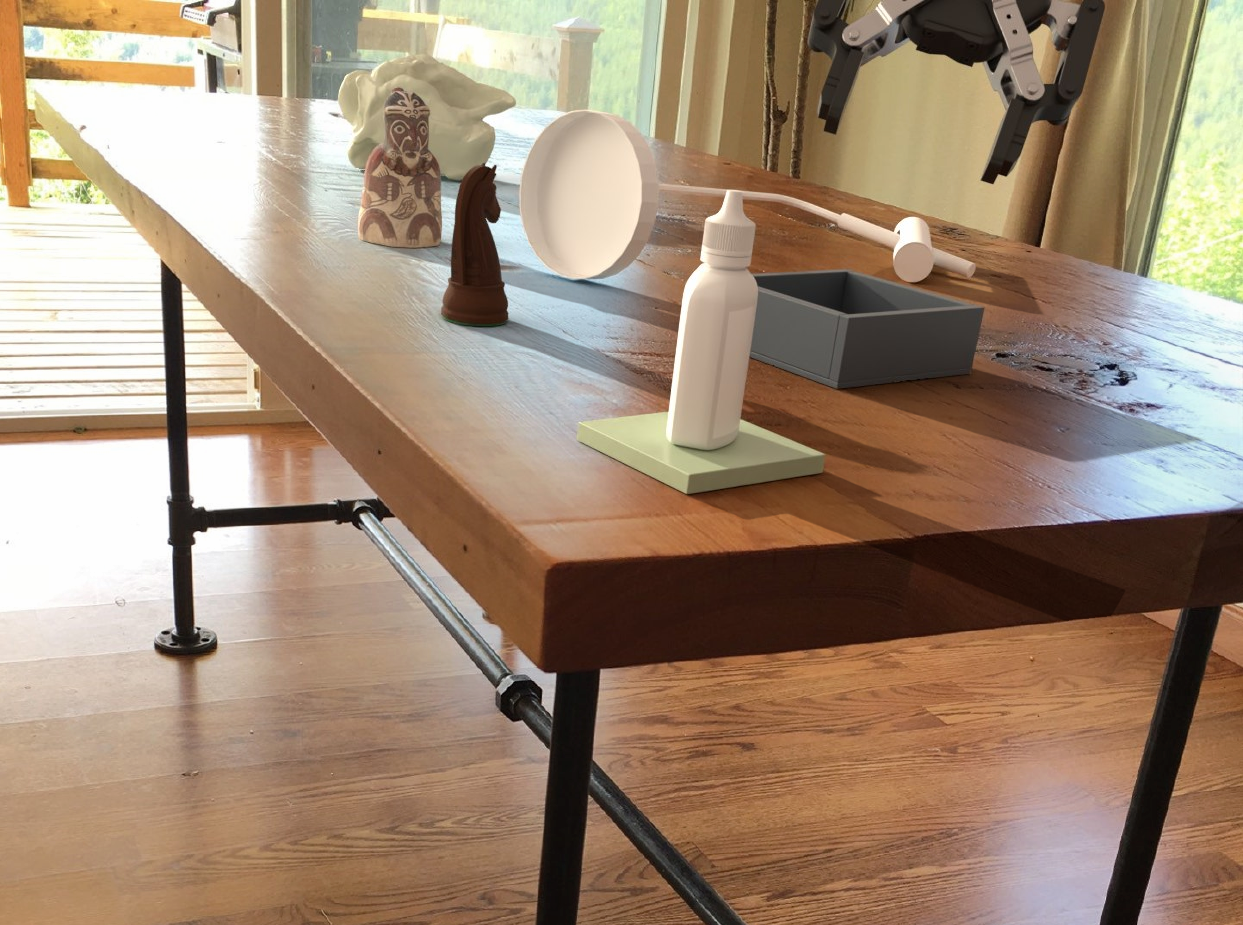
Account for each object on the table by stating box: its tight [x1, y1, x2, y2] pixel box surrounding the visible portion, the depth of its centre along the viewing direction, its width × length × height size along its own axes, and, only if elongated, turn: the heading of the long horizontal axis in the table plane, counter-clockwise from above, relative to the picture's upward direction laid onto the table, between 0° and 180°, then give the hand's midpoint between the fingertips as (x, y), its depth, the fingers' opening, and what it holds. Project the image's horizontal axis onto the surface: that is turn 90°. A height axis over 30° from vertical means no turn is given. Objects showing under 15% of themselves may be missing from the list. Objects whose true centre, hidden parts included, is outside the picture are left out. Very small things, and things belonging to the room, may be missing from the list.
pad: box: [576, 411, 826, 495], centre depth 72 cm, size 9×9×1 cm
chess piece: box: [440, 163, 509, 327], centre depth 95 cm, size 5×5×10 cm
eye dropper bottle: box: [667, 189, 758, 450], centre depth 70 cm, size 4×6×12 cm
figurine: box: [357, 87, 443, 249], centre depth 119 cm, size 7×7×12 cm
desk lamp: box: [518, 109, 977, 283], centre depth 123 cm, size 12×22×45 cm
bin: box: [749, 268, 986, 390], centre depth 95 cm, size 13×13×4 cm
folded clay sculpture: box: [337, 53, 517, 181], centre depth 159 cm, size 18×13×16 cm
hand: (910, 150), depth 73 cm, fingers open, 8 cm apart
